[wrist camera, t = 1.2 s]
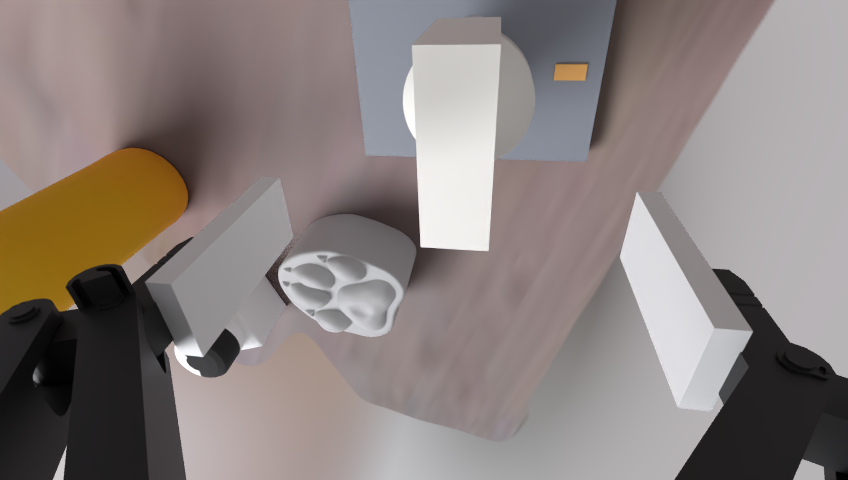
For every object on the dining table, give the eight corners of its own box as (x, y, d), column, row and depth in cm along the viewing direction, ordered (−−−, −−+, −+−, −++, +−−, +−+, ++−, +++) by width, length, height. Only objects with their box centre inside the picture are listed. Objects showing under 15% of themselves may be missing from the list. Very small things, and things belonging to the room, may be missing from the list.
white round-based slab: (407, 12, 28) (355, 45, 18) (540, 10, 27) (563, 44, 17) (414, 177, 34) (379, 268, 24) (523, 181, 33) (532, 278, 23)
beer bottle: (96, 171, 49) (-288, 378, 25) (140, 128, 45) (-267, 326, 21) (162, 231, 53) (-121, 463, 29) (207, 196, 49) (-76, 431, 25)
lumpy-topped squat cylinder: (398, 302, 53) (382, 356, 46) (297, 268, 53) (265, 317, 46) (423, 236, 47) (409, 286, 40) (309, 197, 47) (275, 241, 40)
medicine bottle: (258, 263, 53) (202, 334, 43) (288, 306, 56) (242, 380, 47) (214, 275, 55) (151, 345, 46) (245, 315, 59) (193, 389, 49)
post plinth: (352, -34, 34) (316, -31, 28) (618, -43, 31) (649, -42, 25) (371, 147, 42) (347, 183, 36) (583, 152, 40) (599, 192, 33)
